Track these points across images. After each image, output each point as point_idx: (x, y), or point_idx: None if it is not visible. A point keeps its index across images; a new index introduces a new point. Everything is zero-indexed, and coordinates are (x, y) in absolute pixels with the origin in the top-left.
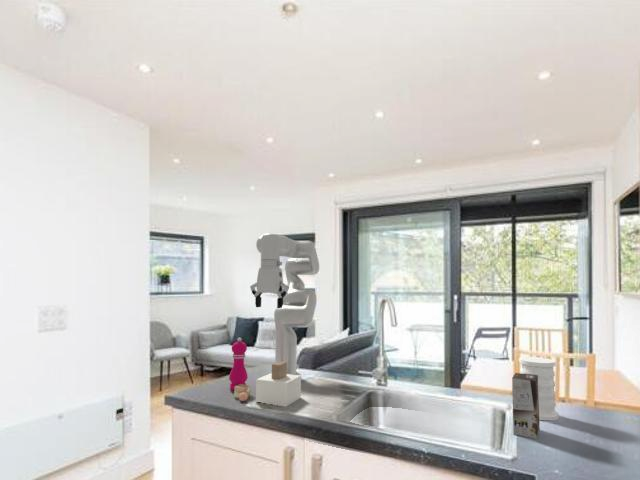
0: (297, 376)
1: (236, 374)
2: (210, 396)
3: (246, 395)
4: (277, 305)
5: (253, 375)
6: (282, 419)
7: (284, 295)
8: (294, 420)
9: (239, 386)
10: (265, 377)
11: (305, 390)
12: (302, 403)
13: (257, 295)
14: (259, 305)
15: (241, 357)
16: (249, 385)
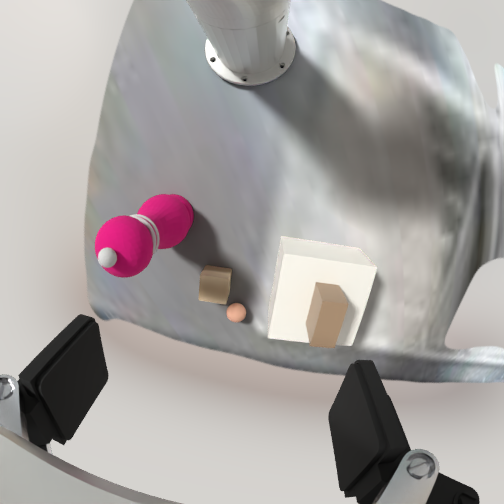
0: (369, 280)
1: (165, 248)
2: (153, 293)
3: (244, 316)
4: (333, 432)
5: (152, 70)
6: (346, 372)
7: (432, 489)
8: None
9: (209, 295)
10: (284, 316)
11: (356, 178)
12: None
13: (51, 453)
14: (96, 357)
15: (154, 251)
16: (228, 279)
